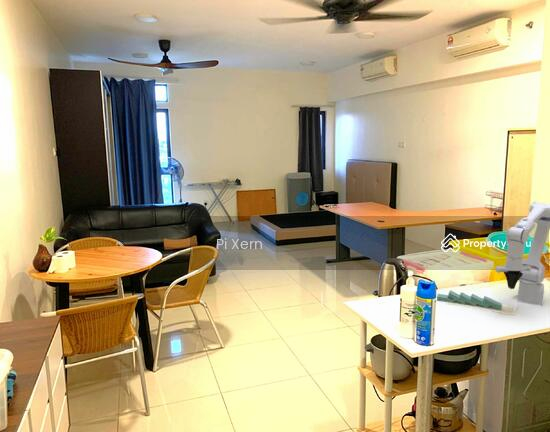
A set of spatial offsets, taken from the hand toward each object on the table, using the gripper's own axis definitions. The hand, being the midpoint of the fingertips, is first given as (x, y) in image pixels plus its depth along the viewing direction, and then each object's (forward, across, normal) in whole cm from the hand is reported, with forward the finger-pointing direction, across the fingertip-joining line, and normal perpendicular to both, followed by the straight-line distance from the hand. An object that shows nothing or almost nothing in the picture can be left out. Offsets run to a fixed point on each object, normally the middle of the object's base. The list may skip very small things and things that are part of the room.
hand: (511, 288), depth 172 cm
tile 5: (+9, +18, -11) cm, 23 cm away
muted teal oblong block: (+9, +14, -9) cm, 19 cm away
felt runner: (+10, +9, -6) cm, 15 cm away
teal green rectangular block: (+9, +2, -2) cm, 9 cm away
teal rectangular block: (+9, +10, -7) cm, 15 cm away
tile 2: (+9, +7, -4) cm, 12 cm away
